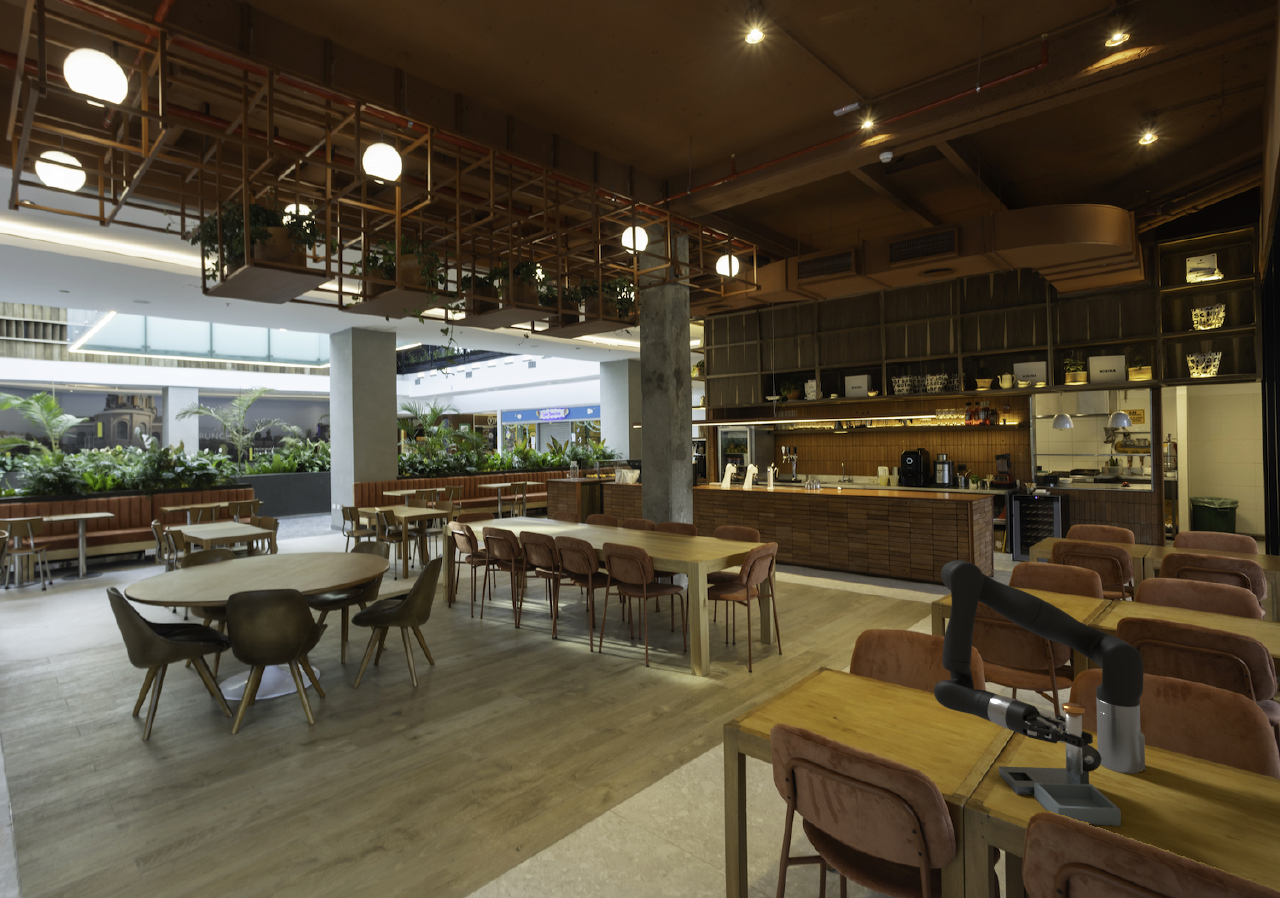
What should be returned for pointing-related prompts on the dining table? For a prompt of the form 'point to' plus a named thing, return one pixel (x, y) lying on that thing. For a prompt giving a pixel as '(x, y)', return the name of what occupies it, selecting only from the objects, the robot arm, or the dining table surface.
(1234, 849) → the dining table surface
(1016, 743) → the dining table surface
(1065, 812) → the tray
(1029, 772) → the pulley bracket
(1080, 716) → the lock pin
